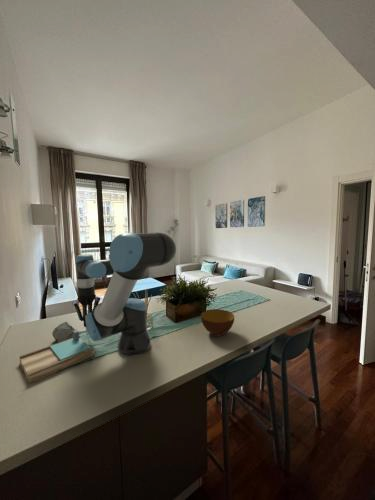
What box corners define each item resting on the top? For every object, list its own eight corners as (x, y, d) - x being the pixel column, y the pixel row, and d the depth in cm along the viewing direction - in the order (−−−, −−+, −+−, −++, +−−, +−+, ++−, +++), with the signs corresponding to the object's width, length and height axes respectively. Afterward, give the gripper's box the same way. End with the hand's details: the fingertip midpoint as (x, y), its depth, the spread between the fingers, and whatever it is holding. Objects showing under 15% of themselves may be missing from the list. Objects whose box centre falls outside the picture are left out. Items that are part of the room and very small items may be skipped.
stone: (65, 317, 115) (55, 325, 105) (80, 328, 116) (73, 337, 106) (53, 331, 115) (42, 340, 105) (69, 342, 116) (60, 352, 106)
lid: (90, 349, 97) (90, 339, 97) (60, 361, 89) (60, 350, 88) (78, 338, 107) (77, 328, 107) (50, 348, 99) (49, 338, 98)
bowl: (237, 329, 121) (237, 312, 120) (229, 345, 105) (229, 325, 104) (207, 323, 129) (207, 307, 128) (195, 337, 113) (195, 318, 112)
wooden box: (94, 355, 98) (93, 348, 97) (29, 383, 80) (28, 374, 80) (79, 341, 109) (79, 335, 109) (20, 363, 92) (19, 356, 91)
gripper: (96, 282, 113) (98, 325, 116) (69, 287, 104) (71, 334, 107) (102, 284, 108) (104, 330, 111) (74, 290, 99) (77, 339, 101)
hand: (88, 332), depth 109 cm, fingers closed
